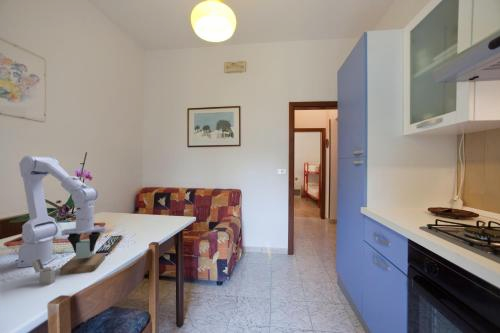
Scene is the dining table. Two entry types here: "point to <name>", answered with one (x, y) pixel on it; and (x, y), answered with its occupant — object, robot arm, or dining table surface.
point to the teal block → (83, 249)
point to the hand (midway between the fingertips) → (84, 251)
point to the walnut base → (82, 264)
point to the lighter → (44, 272)
